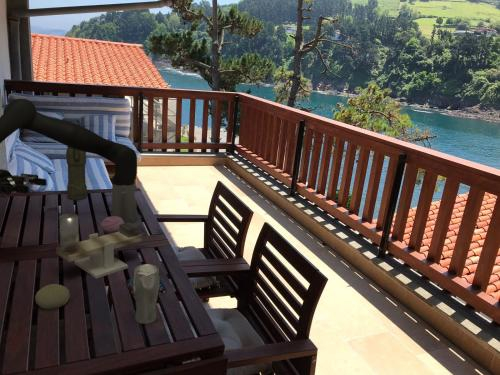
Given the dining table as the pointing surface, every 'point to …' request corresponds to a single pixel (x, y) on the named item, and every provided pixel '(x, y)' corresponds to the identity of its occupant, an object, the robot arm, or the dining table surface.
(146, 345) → the dining table surface
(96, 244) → the balance beam
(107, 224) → the cupcake
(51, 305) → the sea urchin shell
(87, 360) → the dining table surface
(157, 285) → the beer glass
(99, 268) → the pivot stand
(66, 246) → the translucent grey cylinder
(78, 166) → the thermos
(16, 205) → the dining table surface
